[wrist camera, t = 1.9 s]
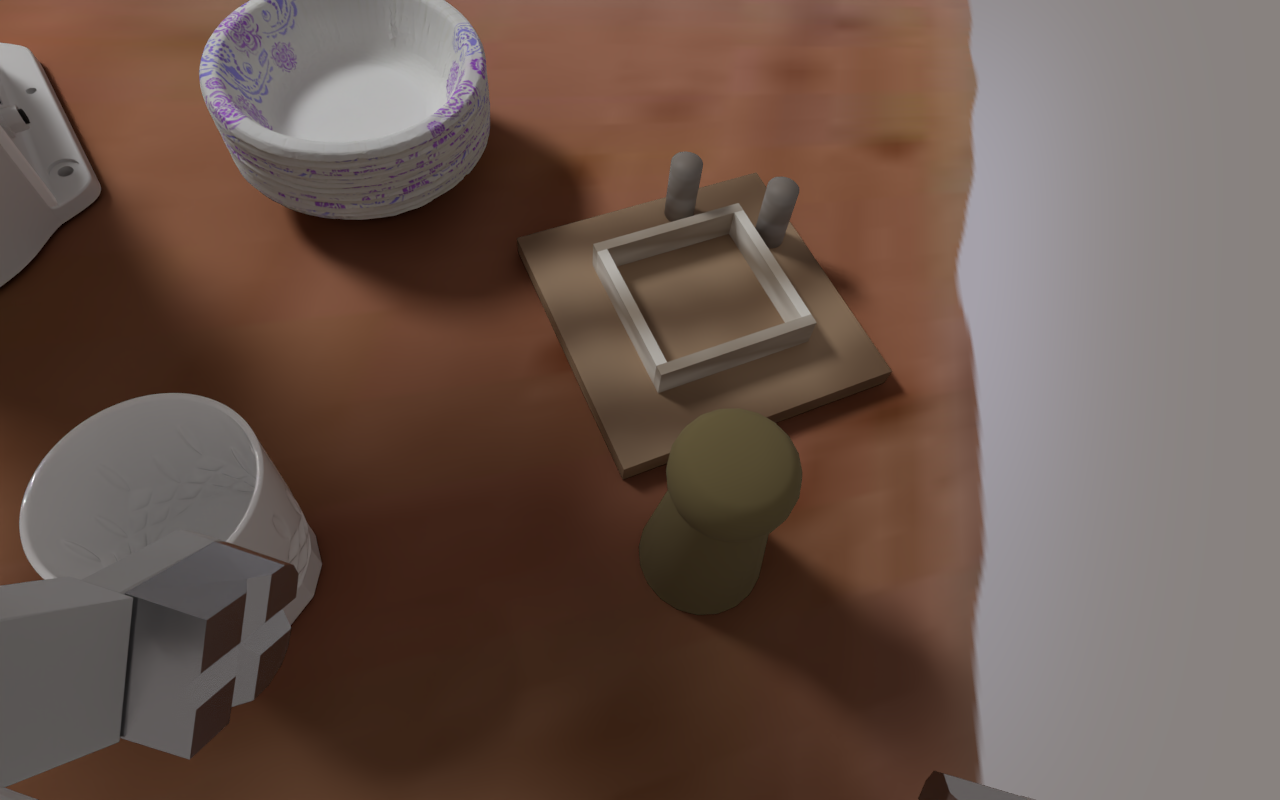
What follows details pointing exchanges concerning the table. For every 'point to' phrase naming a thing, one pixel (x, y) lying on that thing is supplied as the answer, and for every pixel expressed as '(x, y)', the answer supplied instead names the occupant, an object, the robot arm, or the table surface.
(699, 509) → the olive brown peg
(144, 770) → the table surface
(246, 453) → the white cup
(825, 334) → the peg board
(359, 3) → the paper bowls
